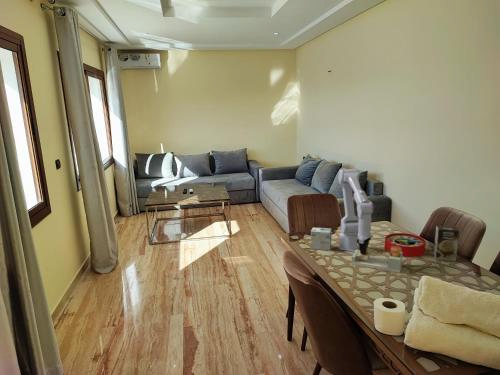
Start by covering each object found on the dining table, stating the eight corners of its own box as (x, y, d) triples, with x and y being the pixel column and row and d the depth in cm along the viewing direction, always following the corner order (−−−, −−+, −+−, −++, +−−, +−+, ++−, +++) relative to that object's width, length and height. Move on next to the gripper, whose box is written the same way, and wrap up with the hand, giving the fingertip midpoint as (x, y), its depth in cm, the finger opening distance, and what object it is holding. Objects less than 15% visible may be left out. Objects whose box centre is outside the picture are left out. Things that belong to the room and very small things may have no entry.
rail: (351, 264, 170) (351, 252, 168) (356, 256, 178) (356, 244, 177) (399, 272, 159) (400, 260, 158) (401, 264, 168) (402, 251, 166)
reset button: (389, 260, 163) (390, 249, 161) (390, 256, 167) (391, 245, 165) (400, 262, 160) (401, 250, 159) (401, 258, 164) (402, 247, 163)
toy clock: (381, 232, 195) (419, 233, 191) (381, 242, 196) (418, 243, 192) (389, 246, 175) (431, 247, 172) (388, 256, 177) (430, 258, 173)
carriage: (356, 260, 169) (357, 247, 167) (360, 254, 176) (360, 241, 174) (367, 262, 167) (367, 248, 165) (370, 256, 173) (370, 242, 172)
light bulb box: (331, 246, 193) (331, 228, 190) (330, 250, 186) (330, 232, 184) (312, 244, 196) (312, 226, 194) (310, 249, 190) (310, 230, 188)
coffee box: (435, 259, 171) (438, 229, 167) (433, 254, 176) (435, 225, 173) (456, 261, 168) (459, 230, 164) (453, 256, 174) (456, 226, 170)
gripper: (370, 232, 159) (369, 259, 162) (375, 222, 172) (374, 247, 175) (354, 230, 163) (354, 256, 166) (361, 220, 175) (360, 245, 178)
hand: (363, 251), depth 170 cm, fingers closed on carriage, 3 cm apart
